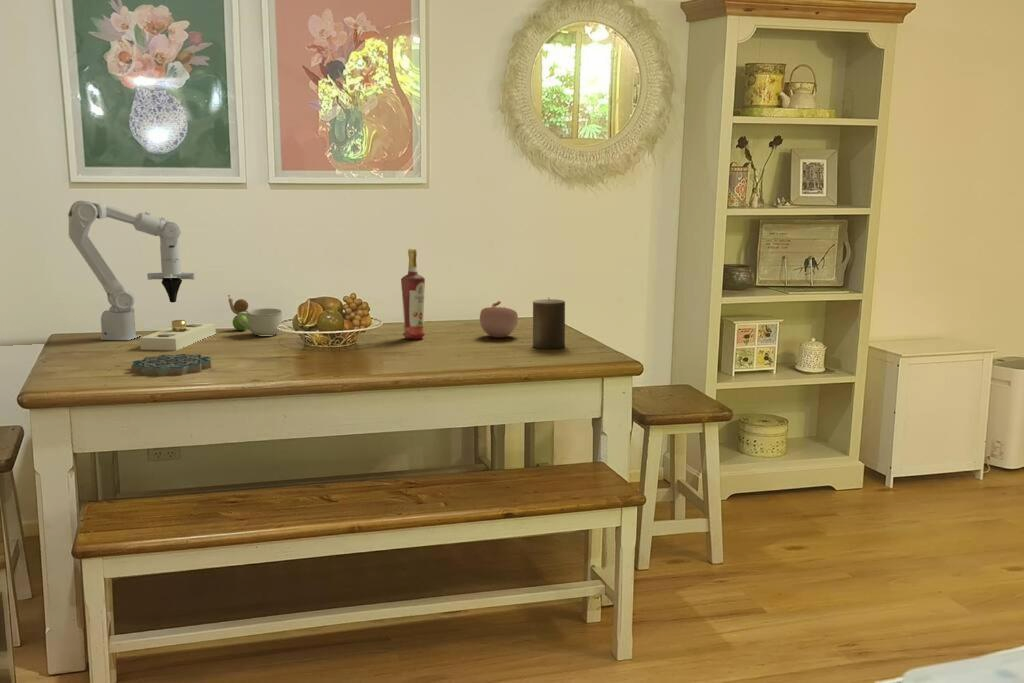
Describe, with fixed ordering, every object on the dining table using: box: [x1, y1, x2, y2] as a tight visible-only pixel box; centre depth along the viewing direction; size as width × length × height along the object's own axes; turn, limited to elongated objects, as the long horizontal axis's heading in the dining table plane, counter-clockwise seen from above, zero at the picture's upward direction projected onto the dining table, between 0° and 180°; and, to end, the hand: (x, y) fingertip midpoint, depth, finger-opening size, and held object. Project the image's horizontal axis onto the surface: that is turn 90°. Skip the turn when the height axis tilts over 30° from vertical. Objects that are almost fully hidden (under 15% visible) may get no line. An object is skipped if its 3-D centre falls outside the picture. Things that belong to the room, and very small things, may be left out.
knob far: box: [186, 323, 199, 327], centre depth 303 cm, size 4×4×3 cm
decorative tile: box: [131, 353, 212, 377], centre depth 257 cm, size 20×20×2 cm
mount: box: [139, 322, 217, 351], centre depth 295 cm, size 11×27×4 cm, turn 173°
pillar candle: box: [532, 296, 566, 350], centre depth 287 cm, size 10×10×15 cm
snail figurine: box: [227, 294, 249, 331], centre depth 314 cm, size 5×6×12 cm
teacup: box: [237, 307, 283, 336], centre depth 306 cm, size 14×11×8 cm
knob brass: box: [171, 319, 187, 332], centre depth 294 cm, size 4×4×3 cm
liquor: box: [400, 248, 426, 341], centre depth 298 cm, size 7×7×28 cm
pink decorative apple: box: [479, 300, 519, 339], centre depth 302 cm, size 12×12×12 cm
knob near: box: [158, 334, 172, 337], centre depth 286 cm, size 4×4×3 cm
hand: (173, 302), depth 307 cm, fingers closed
